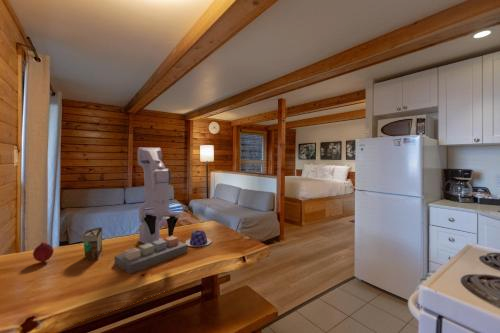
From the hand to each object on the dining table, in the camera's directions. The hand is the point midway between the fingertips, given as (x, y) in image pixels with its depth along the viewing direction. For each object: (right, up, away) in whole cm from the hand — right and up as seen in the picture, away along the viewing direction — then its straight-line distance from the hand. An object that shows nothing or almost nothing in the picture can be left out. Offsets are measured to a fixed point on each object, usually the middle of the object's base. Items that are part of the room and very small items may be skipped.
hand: (161, 234), depth 94 cm
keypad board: (-4, -9, +2) cm, 10 cm away
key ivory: (-9, -7, -5) cm, 13 cm away
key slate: (-2, -7, +4) cm, 8 cm away
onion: (-43, -10, -3) cm, 44 cm away
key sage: (-6, -7, -1) cm, 9 cm away
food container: (-29, -10, +2) cm, 31 cm away
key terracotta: (+1, -7, +8) cm, 11 cm away
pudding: (+11, -9, +18) cm, 23 cm away
